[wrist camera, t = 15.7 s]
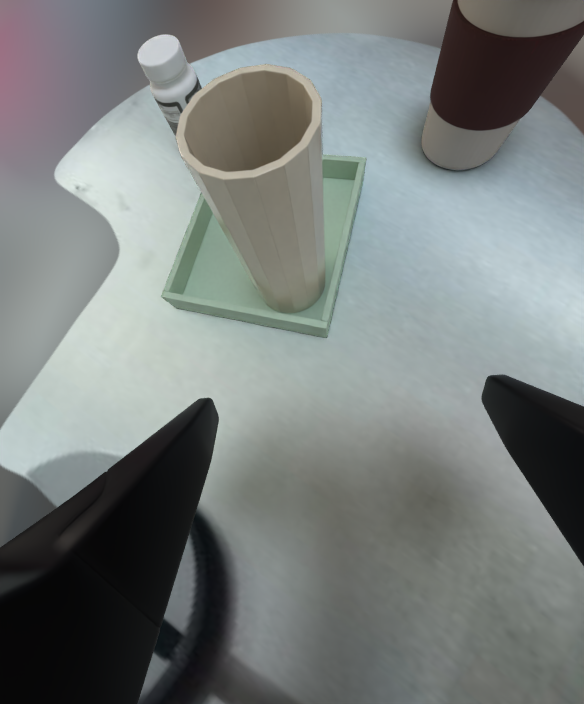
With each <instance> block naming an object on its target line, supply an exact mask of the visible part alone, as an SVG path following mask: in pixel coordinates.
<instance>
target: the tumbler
mask: <svg viewBox="0 0 584 704" xmlns="http://www.w3.org/2000/svg"><path fill="white" fill-rule="evenodd" d="M176 140H177V144H178V147H179V150H180V154H181V157H182V159H183V161H184V162H185V164H186V166H187V168H188V169H189V171H190V173H191V175H192V177H193V178H194V180H195V182H196V184H197V186H198V187H199V189H200V191H201V193H202V194H203V196H204V198H205V200H206V202H207V203H208V205H209V207H210V209H211V211H212V212H213V214H214V216H215V218H216V219H217V221H218V223H219V225H220V227H221V228H222V230H223V232H224V234H225V236H226V237H227V239H228V241H229V243H230V244H231V246H232V248H233V250H234V252H235V253H236V255H237V257H238V259H239V261H240V262H241V264H242V266H243V268H244V269H245V271H246V273H247V275H248V277H249V278H250V280H251V282H252V284H253V285H254V287H255V289H256V291H257V293H258V294H259V296H260V297H261V299H262V300H263V301H264V303H265V304H266V305H267V306H269V307H270V308H271V309H273V310H275V311H278V312H282V313H297V312H300V311H303V310H306V309H308V308H309V307H311V306H312V305H313V304H315V303H316V302H317V301H318V299H319V298H320V297H321V295H322V293H323V291H324V288H325V283H326V258H325V216H324V174H323V132H322V100H321V97H320V95H319V94H318V92H317V90H316V88H315V87H314V85H313V83H312V81H311V80H310V79H308V78H307V77H305V76H303V75H302V74H300V73H298V72H297V71H295V70H294V69H291V68H287V67H281V66H275V65H269V64H267V65H266V64H264V65H256V66H249V67H242V68H238V69H236V70H234V71H231V72H229V73H227V74H224V75H222V76H220V77H217V78H215V79H213V80H212V81H211V82H210V83H208V84H207V85H206V86H205V87H203V88H202V89H201V90H200V91H198V92H197V93H196V94H195V95H194V96H193V97H192V98H191V100H190V101H189V103H188V104H187V106H186V107H185V109H184V110H183V112H182V113H181V116H180V118H179V123H178V128H177V132H176Z"/></svg>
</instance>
